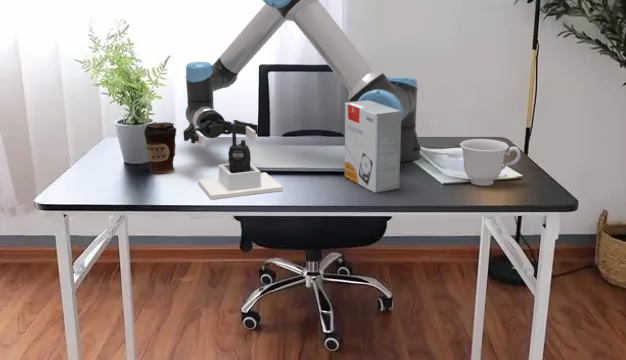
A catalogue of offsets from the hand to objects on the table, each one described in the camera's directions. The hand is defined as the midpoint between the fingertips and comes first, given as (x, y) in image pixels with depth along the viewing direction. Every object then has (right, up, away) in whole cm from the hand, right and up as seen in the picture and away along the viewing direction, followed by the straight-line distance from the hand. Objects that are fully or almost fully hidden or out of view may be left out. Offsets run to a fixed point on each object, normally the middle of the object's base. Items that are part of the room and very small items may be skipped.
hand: (229, 139), depth 189 cm
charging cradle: (+3, -12, -4) cm, 14 cm away
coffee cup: (-19, -8, +10) cm, 23 cm away
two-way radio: (+3, -12, -4) cm, 13 cm away
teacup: (+66, -12, -2) cm, 67 cm away
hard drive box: (+36, -12, -2) cm, 38 cm away
